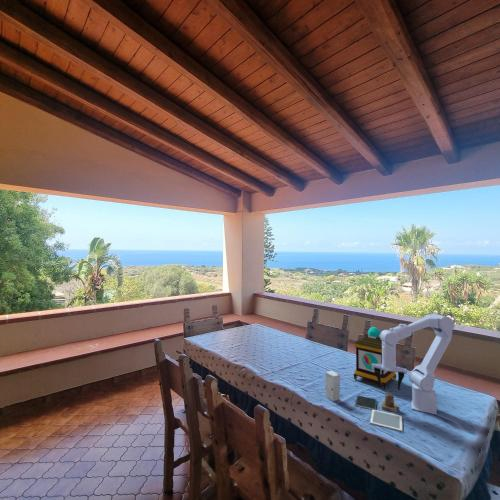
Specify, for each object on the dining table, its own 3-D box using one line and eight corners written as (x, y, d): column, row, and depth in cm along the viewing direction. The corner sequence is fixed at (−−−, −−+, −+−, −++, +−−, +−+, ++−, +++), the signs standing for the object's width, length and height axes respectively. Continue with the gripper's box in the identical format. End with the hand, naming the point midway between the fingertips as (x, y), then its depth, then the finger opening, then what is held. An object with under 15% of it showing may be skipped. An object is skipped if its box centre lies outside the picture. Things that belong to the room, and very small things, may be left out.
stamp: (396, 406, 130) (396, 393, 130) (397, 413, 124) (396, 399, 125) (382, 403, 132) (382, 390, 133) (382, 409, 127) (381, 396, 127)
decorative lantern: (400, 380, 158) (399, 327, 160) (387, 391, 145) (386, 333, 146) (365, 370, 173) (364, 321, 174) (350, 379, 159) (349, 326, 160)
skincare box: (324, 396, 139) (324, 371, 140) (332, 394, 141) (331, 370, 142) (333, 401, 134) (333, 376, 134) (340, 400, 136) (340, 374, 136)
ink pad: (376, 401, 134) (376, 399, 134) (375, 410, 126) (375, 407, 126) (357, 397, 138) (357, 394, 138) (354, 405, 130) (354, 402, 130)
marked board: (402, 417, 121) (402, 415, 121) (402, 432, 110) (402, 430, 110) (372, 410, 126) (372, 409, 126) (369, 423, 116) (369, 422, 116)
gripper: (371, 357, 129) (371, 386, 129) (407, 362, 122) (407, 394, 122) (372, 352, 135) (372, 381, 135) (406, 357, 129) (407, 387, 128)
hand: (389, 386), depth 129 cm, fingers open, 7 cm apart
